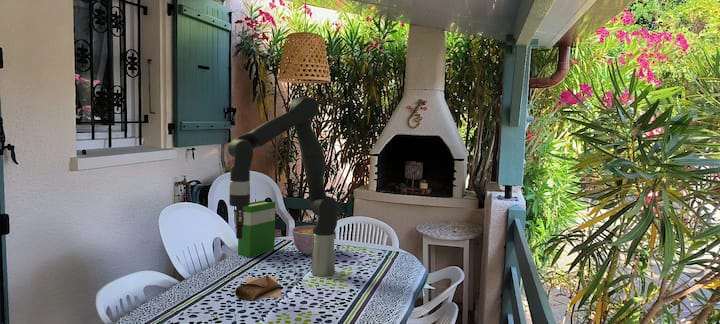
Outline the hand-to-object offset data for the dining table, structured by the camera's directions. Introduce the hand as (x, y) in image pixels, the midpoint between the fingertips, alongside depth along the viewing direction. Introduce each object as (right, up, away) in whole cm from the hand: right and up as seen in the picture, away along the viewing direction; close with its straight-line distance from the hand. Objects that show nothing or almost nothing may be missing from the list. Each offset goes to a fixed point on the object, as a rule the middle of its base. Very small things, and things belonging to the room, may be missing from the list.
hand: (239, 238), depth 185 cm
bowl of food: (+22, -16, +55) cm, 61 cm away
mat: (+8, -19, +3) cm, 21 cm away
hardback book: (-5, -15, +53) cm, 55 cm away
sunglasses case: (+8, -20, -2) cm, 22 cm away
